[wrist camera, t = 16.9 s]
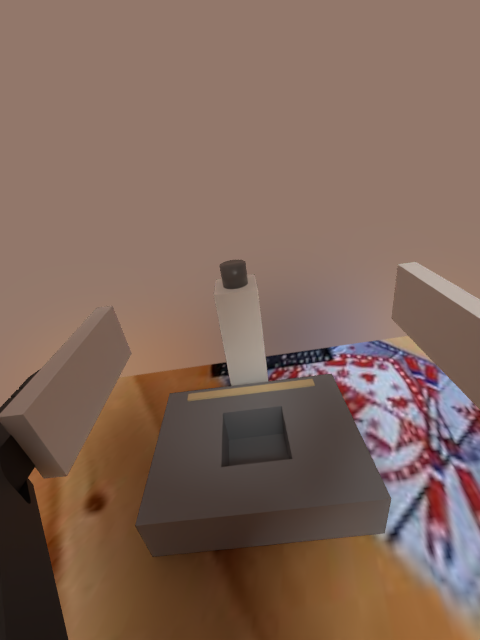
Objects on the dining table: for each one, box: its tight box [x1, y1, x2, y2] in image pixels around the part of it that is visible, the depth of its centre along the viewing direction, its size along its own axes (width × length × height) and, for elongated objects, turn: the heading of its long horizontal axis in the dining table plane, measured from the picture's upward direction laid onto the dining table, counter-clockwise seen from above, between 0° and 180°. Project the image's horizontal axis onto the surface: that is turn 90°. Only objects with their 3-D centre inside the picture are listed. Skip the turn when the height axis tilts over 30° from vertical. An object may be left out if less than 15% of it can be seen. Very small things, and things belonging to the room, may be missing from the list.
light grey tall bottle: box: [214, 260, 268, 386], centre depth 31 cm, size 4×4×15 cm
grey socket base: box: [135, 374, 391, 557], centre depth 24 cm, size 16×12×4 cm
